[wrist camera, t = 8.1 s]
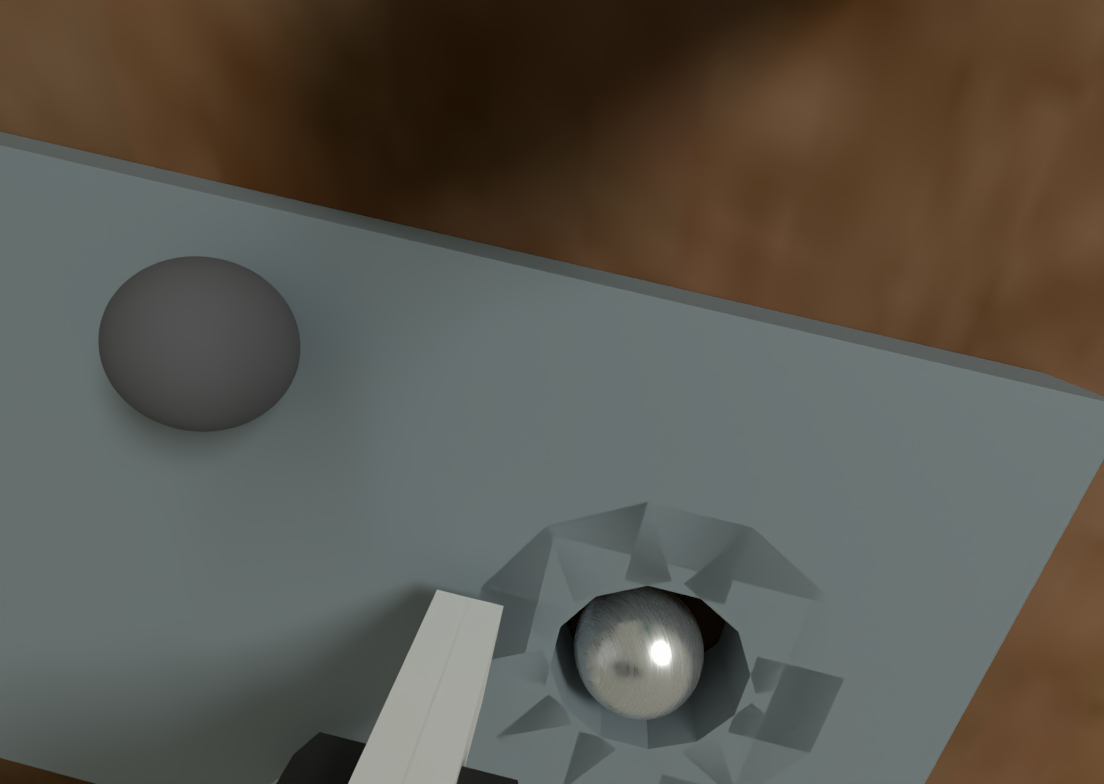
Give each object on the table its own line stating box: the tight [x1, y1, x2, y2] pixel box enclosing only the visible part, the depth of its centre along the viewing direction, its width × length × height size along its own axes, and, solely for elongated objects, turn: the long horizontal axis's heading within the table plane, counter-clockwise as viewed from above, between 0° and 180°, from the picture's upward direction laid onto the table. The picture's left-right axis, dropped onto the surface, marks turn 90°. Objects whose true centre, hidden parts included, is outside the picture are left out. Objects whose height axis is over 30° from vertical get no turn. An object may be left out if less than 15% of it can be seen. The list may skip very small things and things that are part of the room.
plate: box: [0, 132, 1104, 784], centre depth 16 cm, size 26×17×2 cm, turn 78°
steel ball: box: [574, 586, 704, 720], centre depth 15 cm, size 3×3×3 cm
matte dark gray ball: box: [98, 256, 301, 432], centre depth 11 cm, size 3×3×3 cm
